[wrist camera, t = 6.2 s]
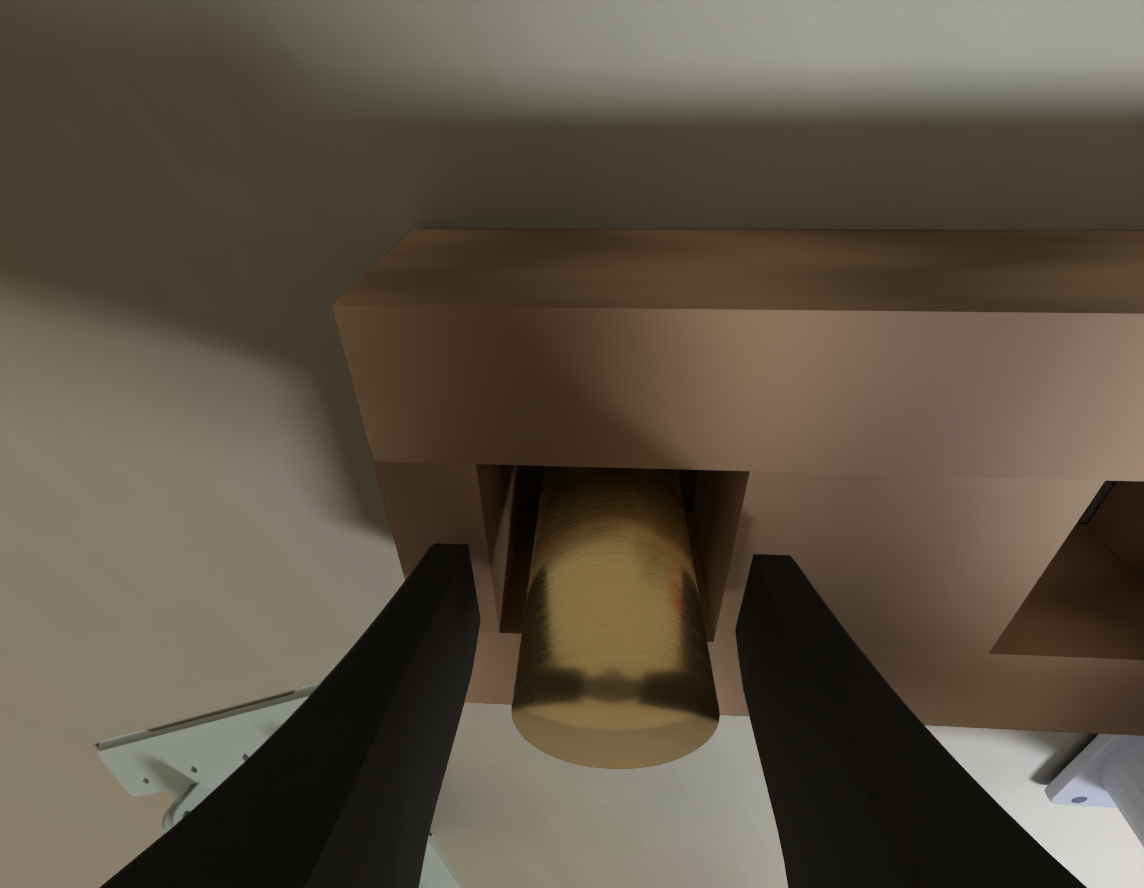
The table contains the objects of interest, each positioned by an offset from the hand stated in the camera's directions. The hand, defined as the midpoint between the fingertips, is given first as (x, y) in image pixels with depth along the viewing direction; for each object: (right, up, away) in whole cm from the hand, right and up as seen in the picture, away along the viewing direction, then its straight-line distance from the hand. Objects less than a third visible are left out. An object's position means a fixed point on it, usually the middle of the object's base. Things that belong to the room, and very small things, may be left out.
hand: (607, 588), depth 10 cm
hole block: (+5, +3, +3) cm, 7 cm away
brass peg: (0, +3, +4) cm, 5 cm away
